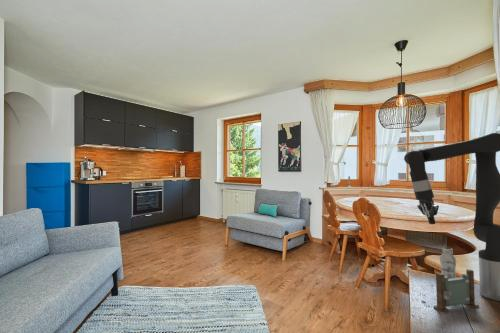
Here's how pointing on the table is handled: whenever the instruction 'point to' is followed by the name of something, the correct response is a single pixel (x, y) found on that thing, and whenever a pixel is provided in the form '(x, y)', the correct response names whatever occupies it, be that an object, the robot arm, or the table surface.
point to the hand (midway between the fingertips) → (432, 223)
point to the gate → (457, 290)
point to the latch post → (441, 293)
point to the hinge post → (471, 289)
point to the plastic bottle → (448, 263)
